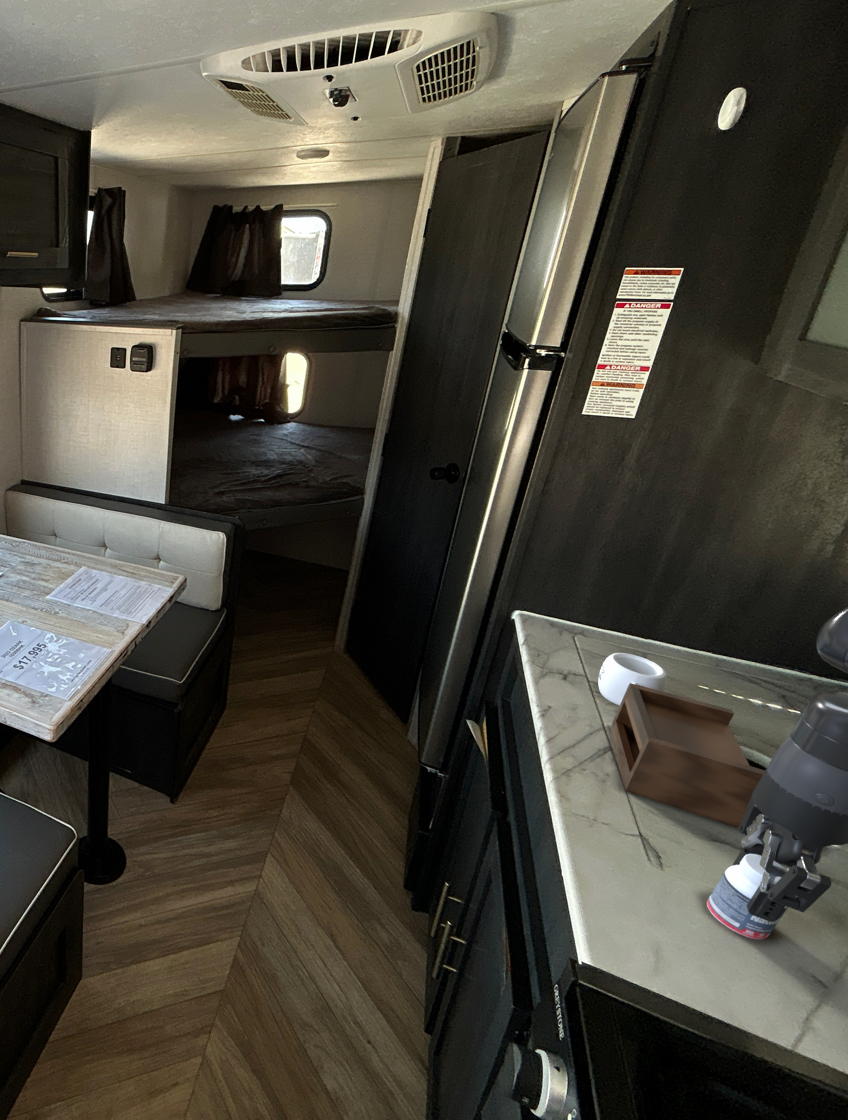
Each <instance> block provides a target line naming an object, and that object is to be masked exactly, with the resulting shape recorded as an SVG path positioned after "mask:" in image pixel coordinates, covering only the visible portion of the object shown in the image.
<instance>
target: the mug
mask: <svg viewBox="0 0 848 1120" xmlns="http://www.w3.org/2000/svg"><path fill="white" fill-rule="evenodd" d="M667 679H668V677H667V672H666V670H665V669H664V668H663V667H662V666H661V665H659V664H658V663H656V662H654V661H652V660H649V659H647V658H645V657H642V656H639V655H635V654H632V653H627V652H626V653H625V652H615V653H611V654H610V655H608V656H607V657H606V658H605V660H604V661H603V663H602V665H601V667H600V670H599V673H598V679H597V680H598V681H597V682H598V684H597V685H598V690H599V692H600V694H601V696H602V697H604V698H605V699H606V700H607V701H609V702H610V703H612V704H615V705H617V706H620V704H621V702H622V699H623V697H624V695H625V692H626V690H627V688H628V686H629V683H632V684H636V685H640V686H643V687H647V688H651V689H655V690H659V691H662V692H664V690H665V688H666V685H667Z"/></svg>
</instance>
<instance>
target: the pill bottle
mask: <svg viewBox="0 0 848 1120" xmlns="http://www.w3.org/2000/svg"><path fill="white" fill-rule="evenodd" d="M761 857H762V856H761V855H757V854H747V855H745V856H744V857H743V859H742V860H741V862H740V864H739V865H733V864H732V865H733V866H732V865H731V866H729V867H727V868H726V869H725V871H724V873H722V876H721V878H720V879H719V881H718V883H717V884H716V886H715V888H714V889H713V891H712V892H711V894H710V896H709V897H708V898H707V900H706V906H707V909H708V911H709V912H710V913H711V914H712V916H713V917H714V918H715V919H716V920H717V921H719V922H720V923H721V924H722V925H724V926H725V927H726V928H728V929H730V930H731V931H733V932H735V933H737V934H739V935H741V936H744V937H747V938H749V939H754V940H765V939H767V938H769V936H770V935H771V934H772V933H773V930H774V929H775V928H776V926H777V924H778V923H779V922H780V919H781V918H782V917H783V916H784V914H785V913H786V911H787V910H788V908H789V907H787V906H785V908H784V909H783V911H782V912H781V914H780V915H779V917H778V918H777V920H776V921H775V922H770V921H767V920H764V919H761V918H759V917H756V916H753V915H751V914H750V913H749V911H748V909H747V904H748V903H749V901H750V900H751V898H752V896H753V895H754V893H755V892H756V890H757V888H758V887H759V886H760V884H761V880H762V877H763V873H764V869H763V868H761V866H760V860H761ZM773 865H774V866H777V867H780V868H783V869H786V868H785V867H784V865H782V864H779V863H777V862H775V861H774V862H773ZM780 879H781V877H776V878H775V880H774V883H773V884H774V885H775V884H776V883H777V882H778V881H779V880H780Z"/></svg>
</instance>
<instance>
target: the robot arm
mask: <svg viewBox="0 0 848 1120" xmlns="http://www.w3.org/2000/svg"><path fill="white" fill-rule="evenodd" d="M815 647H816V650H817V654H818V655H819V656H820V658H821V659H822V660H823V661H824V662H826V663H827V664H829V665H831V666H832V667H835V668H836V669H838V670H839V671H842V672H844V673H845V674H848V606H847V607H844V608H843V609H842V610H840V611H837V613H835V614H834V615H833V616H831V617H830V618H828V620H826V621H825V622H824V623H823V625H822V626H821V627H820V629H819V631H818V633H817V635H816V641H815ZM764 770H765V772H764V774H763V776H762V777H761V779H760V781H759V782H758V784H757V786H756V788H755V789H754V791H753V793H752V796H751V798H750V801H749V803H748V806H747V808H746V811H745V813H744V815H743V818H742V820H741V823H740V825H739V827H738V828H737V829H738V833H739V834H743V835H744V836H743V837H742V838H741V840H740V847H741V850H740V851H739V853H738V855H737V857H736V858H735V859H734V862H733V863H732V865H731V866H733V865H739V864H740V862H741V860H742V859H743V857H744V856H745V855H747V854H757V855H761V856H762V857H761V860H760V866H761V868H763V869H764V873H763V877H762V880H761V884H760V886H759V887H758V888H757V890H756V892H755V893H754V895H753V896H752V898H751V900H750V901H749V903H748V904H747V909H748V911H749V913H750V914H751V915H753V916H756V917H759V918H761V919H764V920H767V921H770V922H775V921H776V920H777V918H778V917H779V915H780V914H781V912H782V911H783V909H784V908H785V906H787V907H788V908H789V909H793V910H795V911H798V912H800V913H804V912H806V911H807V910H808V909H809V908H810V907H811V906H812V905H813V904H814V903H816V902H817V900H819V898H821V896H823V895H824V894H825V893H826V892H827V891H828V890H829V889H830V888H831V886H832V879H831V877H829V876H827V875H824V874H822V873H819V872H818V868H817V866H816V865H817V864H818V863H819V862H820V861H821V859H822V858H821V857H822V854H823V850H824V848H825V847H831V846H844V845H848V692H842V691H824V692H820V693H818V694H816V695H814V696H813V697H812V698H811V699H810V701H809V702H808V704H807V705H806V706H805V708H804V710H803V711H802V713H801V715H800V718H798V721H797V722H796V724H795V726H794V727H793V729H792V731H791V732H790V734H789V735H788V737H787V738H786V739H785V740H784V741H783V742H782V743H781V744H780V745H779V747H778V748H777V749H776V751H775V753H774V754H773V756H772V758H771V760H770V761H769V763H768V765H767V767H766V768H765V769H764ZM774 861H775V862H776V863H778V864H780V865H781V866H785V867H786V868H785V869H783V868H780V867H777V866H774V865H773V862H774ZM776 877H781V879H780V880H779V881H778V882H777V883H776V884H775V885H774V884H773V883H774V880H775V878H776Z"/></svg>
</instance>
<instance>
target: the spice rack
mask: <svg viewBox="0 0 848 1120" xmlns="http://www.w3.org/2000/svg"><path fill="white" fill-rule="evenodd" d="M618 706H619V705H618ZM734 715H735V713H734V711H733V710H732V709H731V708H727V707H724V706H720V705H716V704H712V703H708V702H704V701H700V700H696V699H693V698H689V697H685V696H681V695H678V694H674V693H670V692H666V691H663V692H662V691H659V690H655V689H651V688H647V687H643V686H640V685H636V684H632V683H629V686H628V688H627V690H626V692H625V695H624V697H623V699H622V702H621V704H620V706H619V707H618V709H617V711H616V713H615V716H614V717H613V720H612V722H611V725H610V727H609V732H610V736H611V740H612V744H613V748H614V751H615V755H616V759H617V762H618V767H619V771H620V775H621V779H622V782H623V787H624V790H625V792H628V793H631V794H634V795H637V796H640V797H643V798H646V799H649V800H652V801H655V802H658V803H661V804H665V805H667V806H670V807H674V808H677V809H679V810H683V811H685V812H689V813H692V814H694V815H698V816H700V817H703V818H706V819H710V820H712V821H716V822H719V823H722V824H724V825H728V826H732V827H734V828H736V829H739V828H738V827H739V825H740V823H741V820H742V818H743V815H744V813H745V811H746V808H747V806H748V803H749V801H750V798H751V796H752V793H753V791H754V789H755V788H756V786H757V784H758V782H759V781H760V779H761V777H762V776H763V774H764V772H765V770H766V769H762V768H758V767H754V766H751V765H750V763H749V761H748V760H747V757H746V756H745V754H744V752H743V750H742V748H741V746H740V744H739V741H738V740H737V738H736V736H735V734H734V732H733V730H732V728H731V726H730V723H731V721H732V719H733V717H734Z"/></svg>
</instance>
